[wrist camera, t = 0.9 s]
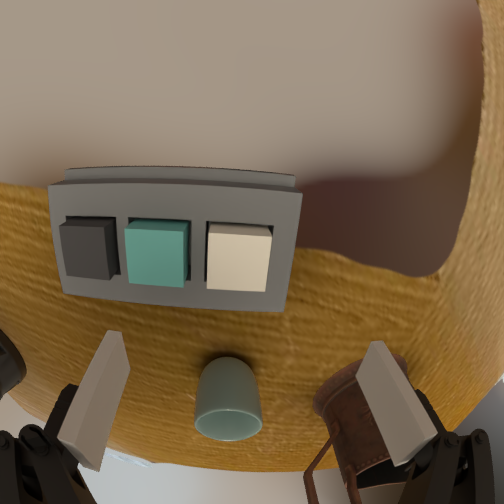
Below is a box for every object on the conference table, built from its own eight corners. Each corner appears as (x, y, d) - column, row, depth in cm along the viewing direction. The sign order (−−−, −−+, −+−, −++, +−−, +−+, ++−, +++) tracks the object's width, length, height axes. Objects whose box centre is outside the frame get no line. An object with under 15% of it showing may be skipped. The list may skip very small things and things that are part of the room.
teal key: (138, 268, 25) (129, 282, 22) (135, 218, 23) (124, 228, 20) (188, 271, 26) (183, 287, 23) (188, 221, 24) (183, 231, 21)
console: (81, 282, 29) (65, 301, 25) (70, 168, 24) (47, 174, 20) (275, 297, 31) (281, 320, 27) (293, 174, 26) (304, 180, 22)
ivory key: (209, 272, 26) (206, 288, 23) (211, 221, 24) (208, 232, 21) (261, 275, 26) (265, 291, 24) (267, 225, 24) (272, 237, 22)
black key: (79, 262, 24) (66, 275, 22) (74, 216, 23) (58, 225, 20) (120, 266, 25) (109, 280, 22) (116, 217, 23) (103, 227, 20)
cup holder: (373, 416, 45) (411, 510, 22) (267, 418, 41) (285, 545, 18) (424, 354, 39) (491, 455, 16) (310, 345, 35) (368, 519, 12)
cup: (188, 367, 35) (180, 425, 26) (226, 338, 33) (226, 401, 24) (228, 391, 38) (230, 446, 28) (267, 366, 36) (276, 425, 27)
